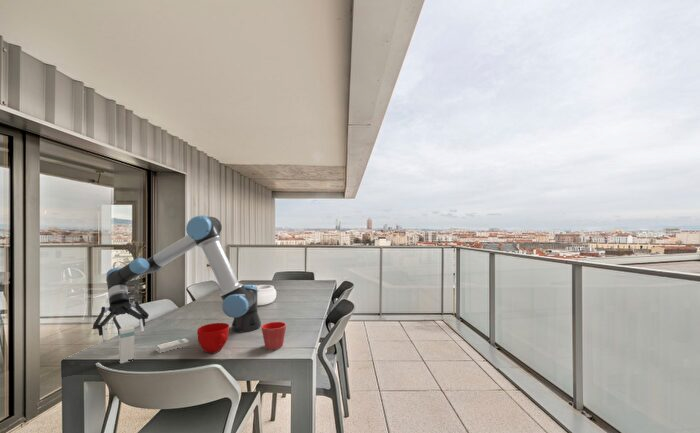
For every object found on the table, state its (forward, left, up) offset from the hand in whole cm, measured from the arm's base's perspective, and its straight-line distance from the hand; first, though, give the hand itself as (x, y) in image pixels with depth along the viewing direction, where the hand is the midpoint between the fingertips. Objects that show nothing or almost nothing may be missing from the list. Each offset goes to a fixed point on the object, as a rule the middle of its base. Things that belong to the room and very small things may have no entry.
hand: (124, 336), depth 131 cm
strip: (-19, -5, -7) cm, 21 cm away
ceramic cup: (-40, 0, -7) cm, 41 cm away
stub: (-7, +7, -7) cm, 12 cm away
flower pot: (-65, -4, -7) cm, 66 cm away
